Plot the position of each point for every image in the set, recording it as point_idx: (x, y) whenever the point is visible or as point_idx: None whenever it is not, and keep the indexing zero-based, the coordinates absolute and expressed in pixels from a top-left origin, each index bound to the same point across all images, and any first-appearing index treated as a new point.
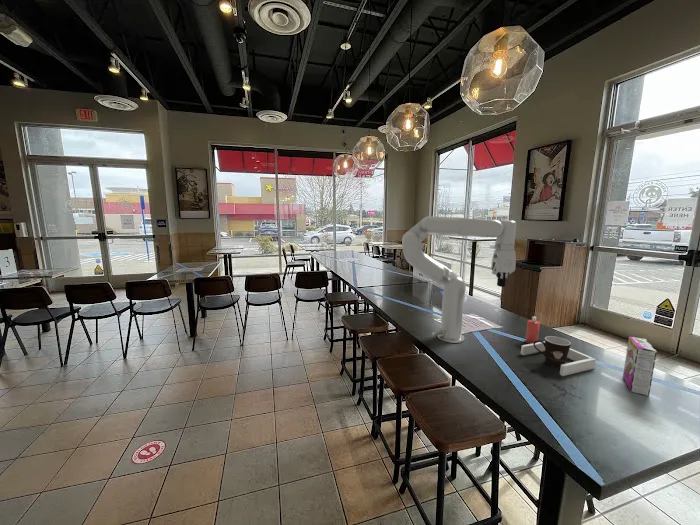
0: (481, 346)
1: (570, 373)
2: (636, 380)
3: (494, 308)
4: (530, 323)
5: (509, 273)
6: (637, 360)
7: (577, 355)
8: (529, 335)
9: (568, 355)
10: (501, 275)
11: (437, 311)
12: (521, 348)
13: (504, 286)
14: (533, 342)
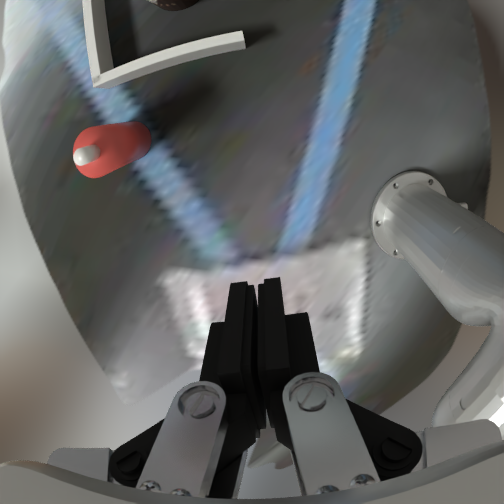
0: (351, 128)
1: None
2: None
3: (122, 388)
4: (114, 140)
5: (100, 458)
6: None
7: (95, 2)
8: (138, 133)
9: (103, 25)
10: (340, 428)
11: None
12: (244, 42)
13: (238, 282)
14: (136, 122)
